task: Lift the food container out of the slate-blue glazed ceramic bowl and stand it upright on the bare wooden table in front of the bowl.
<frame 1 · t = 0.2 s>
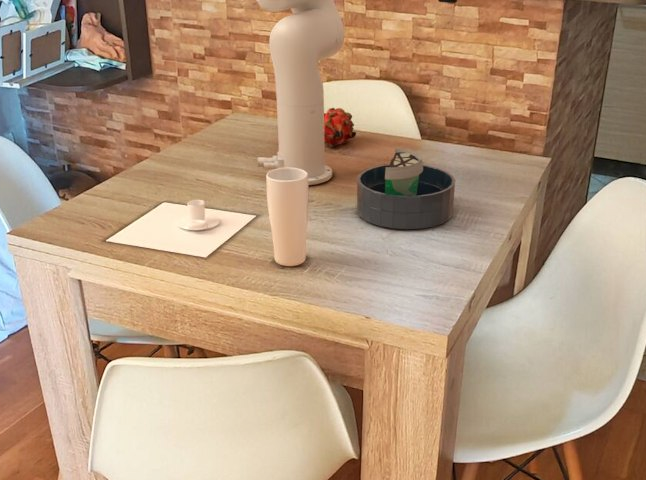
food container: (404, 211, 156), resting on bowl
teacup and saucer: (183, 228, 150), on the table
dragon fruit: (336, 144, 192), on the table
bowl: (404, 212, 156), on the table
drinking glass: (290, 262, 138), on the table
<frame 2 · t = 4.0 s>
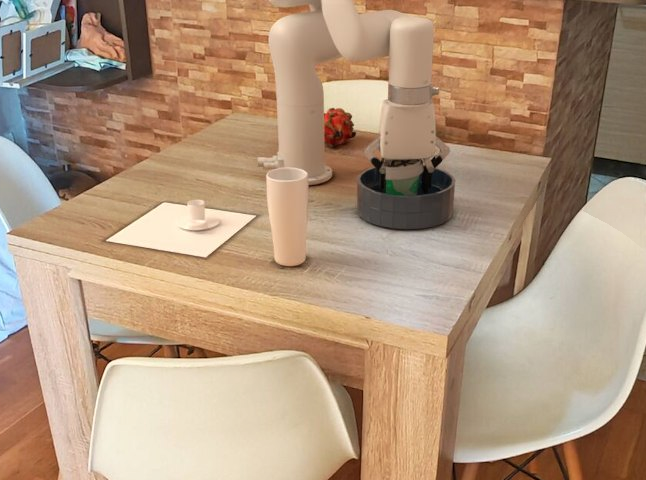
hand: (404, 190, 154), 4 cm above the table, tool pointing down, fingers closed on food container, 6 cm apart
food container: (405, 211, 156), resting on bowl, touching gripper
everything else where it was.
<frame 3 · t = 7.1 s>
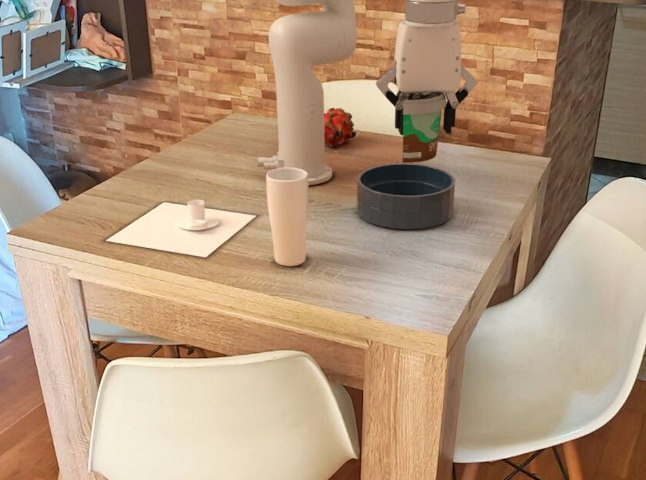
hand: (424, 131, 133), 20 cm above the table, tool pointing down, fingers closed on food container, 6 cm apart
food container: (424, 155, 135), point 16 cm above the table, touching gripper
everything else where it was.
when the fingers open (4 cm above the table, at t = 10.4 s): food container stays where it is, on the table.
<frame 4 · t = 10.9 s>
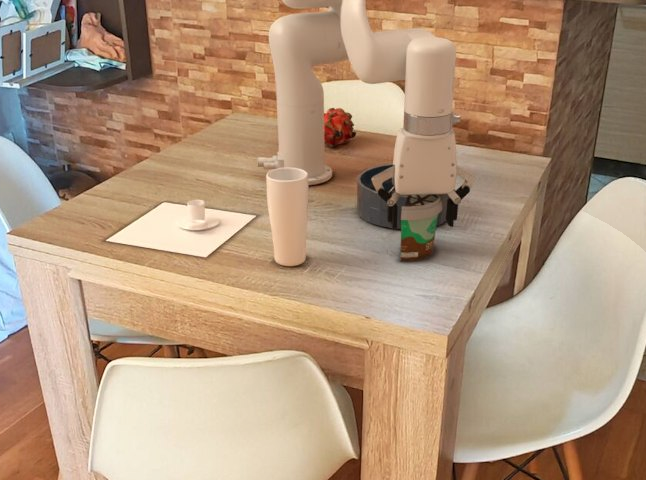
hand: (421, 224, 139), 5 cm above the table, tool pointing down, fingers open, 9 cm apart
food container: (421, 252, 141), on the table
everything else where it was.
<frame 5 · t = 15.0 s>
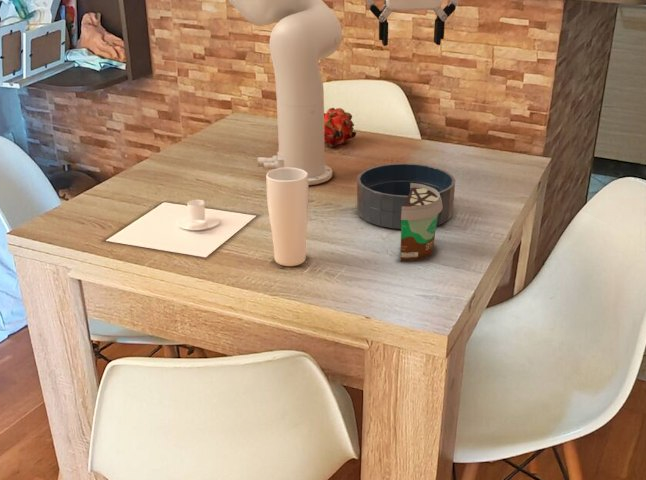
hand: (410, 44, 149), 28 cm above the table, tool pointing down, fingers open, 9 cm apart
nothing on the table moved.
at the end: food container inside the target area (0.2 cm from its centre), on the table; food container tilted 0°; food container touching table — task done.
